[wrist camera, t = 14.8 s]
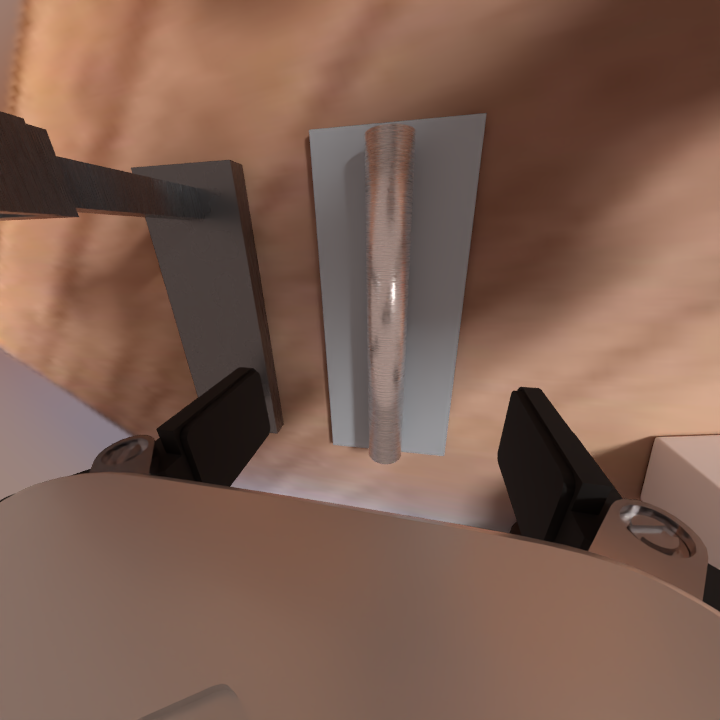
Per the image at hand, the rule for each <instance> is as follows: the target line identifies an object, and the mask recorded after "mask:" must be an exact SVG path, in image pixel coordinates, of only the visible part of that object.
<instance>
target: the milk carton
mask: <svg viewBox="0 0 720 720" xmlns="http://www.w3.org/2000/svg"><path fill="white" fill-rule="evenodd" d="M641 500H642V501H643V502H646V503H649V504H652V505H654V506H656V507H659V508H661V509H663V510H665V511H666V512H668V513H670V514H672V515H673V516H675V517H677V518H678V519H679V520H681V521H682V522H683V523H685V524H686V525H687V526H689V527H690V528H691V529H692V530H693V531H694V532H695V533H696V534H697V535H698V536H699V537H700V538H701V540H702V542H703V543H704V545H705V546H706V548H707V552H708V557H709V558H708V563H709V564H711V565H712V566H714V567H716V568H717V569H719V570H720V435H701V436H671V437H656V438H655V440H654V444H653V448H652V452H651V456H650V460H649V464H648V468H647V472H646V476H645V480H644V485H643V489H642V493H641Z"/></svg>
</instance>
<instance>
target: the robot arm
mask: <svg viewBox="0 0 720 720" xmlns="http://www.w3.org/2000/svg"><path fill="white" fill-rule="evenodd" d="M156 430H157V432H158V434H159V437H160V438H159V439H157V440H156V441H155V440H154V438H152V437H151V436H148V435H137V436H132V437H128V438H126V439H122V440H120V441H118V442H116V443H114V444H112V445H111V446H109V447H107V448H105V449H104V450H103V451H102V452H101V453H100V454H99V455H98V456H97V457H96V459H95V460H94V462H93V465H92V467H91V469H89V470H85V471H83V472H80V473H77V474H74V475H71V476H67V477H61V478H57V479H52V480H49V481H45V482H42V483H38V484H35V485H33V486H30V487H28V488H25V489H23V490H21V491H19V492H18V493H16V494H13V495H10V496H8V497H6V498H4V499H2V500H1V501H0V720H720V570H719V569H717V568H716V567H714V566H712V565H711V564H709V563H708V558H709V557H708V552H707V548H706V546H705V545H704V543H703V542H702V540H701V538H700V537H699V536H698V535H697V534H696V533H695V532H694V531H693V530H692V529H691V528H690V527H689V526H687V525H686V524H685V523H683V522H682V521H681V520H679V519H678V518H677V517H675V516H673V515H672V514H670V513H668V512H666V511H665V510H663V509H661V508H659V507H656V506H654V505H652V504H649V503H646V502H642V501H639V500H635V499H623V498H622V497H621V496H620V494H619V493H618V491H617V490H616V489H615V487H614V486H613V485H612V483H611V482H610V481H609V479H608V478H607V477H606V475H605V474H604V473H603V471H602V470H601V469H600V467H599V466H598V465H597V463H596V462H595V461H594V459H593V458H592V456H591V455H590V454H589V452H588V451H587V450H586V448H585V447H584V446H583V444H582V443H581V442H580V440H579V439H578V438H577V436H576V435H575V434H574V433H573V432H572V431H571V429H570V428H569V427H568V425H567V424H566V423H565V421H564V420H563V419H562V417H561V416H560V415H559V413H558V412H557V411H556V409H555V408H554V406H553V405H552V404H551V402H550V401H549V400H548V398H547V397H546V396H545V394H544V393H543V392H542V390H541V389H540V388H528V387H520V388H519V389H518V391H513V392H512V394H511V397H510V402H509V406H508V410H507V415H506V419H505V423H504V428H503V432H502V436H501V441H500V445H499V449H498V464H499V467H500V470H501V473H502V476H503V479H504V482H505V485H506V488H507V491H508V495H509V498H510V501H511V504H512V507H513V510H514V513H515V516H516V519H517V522H518V525H519V529H520V532H521V535H522V536H520V535H515V534H510V533H504V532H498V531H493V530H487V529H481V528H476V527H471V526H465V525H460V524H454V523H448V522H442V521H436V520H430V519H424V518H418V517H412V516H406V515H400V514H395V513H389V512H383V511H377V510H371V509H365V508H359V507H353V506H346V505H340V504H334V503H328V502H322V501H316V500H310V499H304V498H297V497H291V496H285V495H279V494H273V493H266V492H260V491H254V490H247V489H241V488H235V487H230V486H231V485H232V483H233V482H234V481H235V479H236V478H237V477H238V475H239V474H240V473H241V471H242V470H243V469H244V467H245V466H246V465H247V463H248V462H249V461H250V459H251V458H252V457H253V455H254V454H255V453H256V451H257V450H258V449H259V447H260V446H261V445H262V443H263V442H264V441H265V439H266V438H267V437H268V435H269V433H270V422H269V417H268V412H267V407H266V402H265V397H264V392H263V387H262V382H261V377H260V374H259V372H257V371H256V370H255V369H254V368H246V367H239V368H237V369H236V370H234V371H233V372H232V373H230V374H229V375H228V376H226V377H225V378H224V379H222V380H221V381H220V382H218V383H217V384H216V385H214V386H213V387H212V388H210V389H209V390H208V391H206V392H205V393H204V394H202V395H201V396H200V397H198V398H197V399H196V400H194V401H193V402H192V403H190V404H189V405H188V406H186V407H185V408H184V409H182V410H181V411H180V412H178V413H177V414H176V415H174V416H173V417H172V418H170V419H169V420H168V421H166V422H165V423H164V424H162V425H161V426H160V427H158V428H157V429H156Z"/></svg>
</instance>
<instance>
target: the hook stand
mask: <svg viewBox="0 0 720 720" xmlns="http://www.w3.org/2000/svg"><path fill="white" fill-rule="evenodd" d="M131 170H132V173H129V172H124V171H120V170H115V169H111V168H106V167H102V166H97V165H93V164H89V163H84V162H80V161H75V160H71V159H66V158H62V157H57V156H56V155H55V152H54V150H53V147H52V144H51V142H50V139H49V136H48V134H47V131H46V130H45V129H42V128H39V127H35V126H32V125H28V124H25V121H24V119H23V118H20V117H17V116H14V115H10V114H7V113H4V112H0V221H3V220H25V219H47V218H68V217H79V216H78V213H77V212H81V213H95V214H108V215H122V216H136V217H145V218H146V221H147V225H148V228H149V232H150V235H151V238H152V242H153V245H154V249H155V252H156V255H157V259H158V262H159V266H160V269H161V272H162V276H163V279H164V283H165V286H166V289H167V293H168V296H169V300H170V303H171V306H172V310H173V313H174V317H175V320H176V324H177V327H178V330H179V334H180V337H181V341H182V344H183V347H184V351H185V354H186V358H187V361H188V364H189V368H190V371H191V375H192V378H193V381H194V385H195V388H196V392H197V395H198V397H200V396H201V395H202V394H204V393H205V392H206V391H208V390H209V389H210V388H212V387H213V386H214V385H216V384H217V383H218V382H220V381H221V380H222V379H224V378H225V377H226V376H228V375H229V374H230V373H232V372H233V371H234V370H236V369H237V368H239V367H246V368H254V369H255V370H256V371H257V372H259V374H260V377H261V382H262V387H263V392H264V397H265V402H266V407H267V412H268V417H269V422H270V433H278V432H279V430H280V429H281V427H282V426H283V425H284V424H283V418H282V411H281V405H280V399H279V393H278V386H277V380H276V374H275V368H274V361H273V355H272V349H271V343H270V336H269V330H268V324H267V318H266V311H265V305H264V299H263V293H262V286H261V280H260V274H259V268H258V261H257V255H256V249H255V243H254V236H253V230H252V224H251V218H250V211H249V205H248V199H247V193H246V186H245V180H244V174H243V168H242V165H241V164H239V163H236V162H234V161H231V160H222V161H210V162H197V163H184V164H172V165H159V166H147V167H134V168H131Z"/></svg>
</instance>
